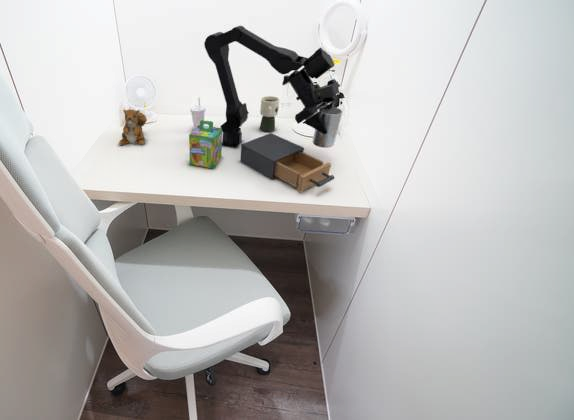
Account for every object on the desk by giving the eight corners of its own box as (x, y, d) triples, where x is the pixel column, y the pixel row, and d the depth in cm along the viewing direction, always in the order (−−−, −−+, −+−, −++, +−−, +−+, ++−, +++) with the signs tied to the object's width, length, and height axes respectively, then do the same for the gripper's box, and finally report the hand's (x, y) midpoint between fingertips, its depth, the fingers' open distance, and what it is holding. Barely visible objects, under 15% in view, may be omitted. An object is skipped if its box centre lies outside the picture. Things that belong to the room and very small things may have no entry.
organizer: (301, 165, 112) (304, 147, 107) (271, 179, 105) (274, 161, 101) (268, 150, 122) (270, 132, 118) (240, 161, 115) (241, 144, 111)
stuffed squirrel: (118, 146, 128) (112, 114, 120) (128, 131, 139) (123, 101, 131) (142, 147, 127) (138, 114, 119) (151, 132, 138) (147, 101, 130)
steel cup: (312, 146, 104) (320, 113, 98) (312, 137, 110) (318, 105, 103) (335, 148, 103) (343, 115, 96) (333, 139, 108) (341, 107, 102)
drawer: (338, 182, 101) (342, 168, 98) (311, 198, 95) (314, 183, 92) (293, 160, 113) (295, 147, 110) (266, 172, 107) (267, 159, 104)
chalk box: (189, 165, 114) (187, 125, 105) (198, 153, 121) (197, 115, 112) (213, 169, 111) (213, 129, 102) (222, 157, 118) (222, 118, 109)
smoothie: (205, 133, 135) (204, 100, 126) (190, 133, 136) (188, 100, 127) (206, 127, 140) (206, 95, 131) (192, 127, 141) (190, 94, 132)
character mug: (276, 135, 132) (280, 103, 124) (258, 134, 133) (261, 103, 125) (275, 124, 140) (279, 94, 132) (258, 124, 141) (261, 94, 133)
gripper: (311, 79, 90) (341, 126, 91) (338, 65, 101) (364, 107, 102) (282, 101, 99) (309, 144, 100) (310, 86, 110) (334, 125, 111)
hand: (330, 129), depth 103 cm, fingers closed on steel cup, 7 cm apart
